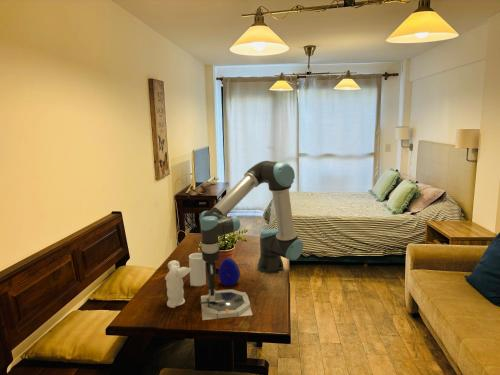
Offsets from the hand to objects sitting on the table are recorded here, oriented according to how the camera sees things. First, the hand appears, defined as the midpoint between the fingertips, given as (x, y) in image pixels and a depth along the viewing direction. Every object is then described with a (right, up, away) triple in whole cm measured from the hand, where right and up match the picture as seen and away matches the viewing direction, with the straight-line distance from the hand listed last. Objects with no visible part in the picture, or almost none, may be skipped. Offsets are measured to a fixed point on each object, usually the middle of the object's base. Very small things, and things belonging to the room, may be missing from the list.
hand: (212, 299), depth 168 cm
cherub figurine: (-16, -4, +5) cm, 17 cm away
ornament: (+6, 0, +24) cm, 25 cm away
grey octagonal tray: (+6, -4, +2) cm, 8 cm away
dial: (+6, -3, +2) cm, 7 cm away
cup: (-10, 0, +25) cm, 27 cm away
